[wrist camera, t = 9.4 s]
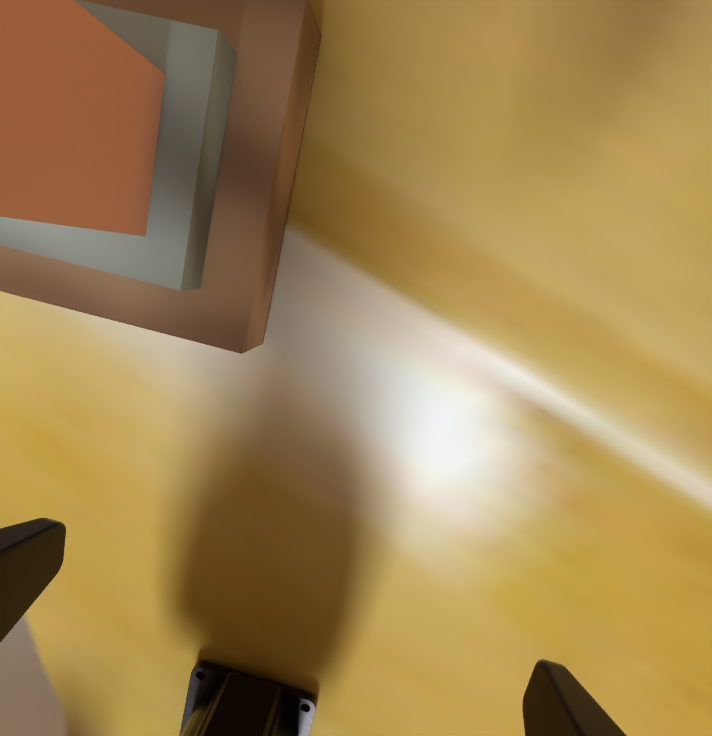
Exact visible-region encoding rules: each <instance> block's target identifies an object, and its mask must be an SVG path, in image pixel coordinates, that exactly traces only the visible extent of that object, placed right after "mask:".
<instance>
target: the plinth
mask: <svg viewBox="0 0 712 736" xmlns="http://www.w3.org/2000/svg"><path fill="white" fill-rule="evenodd" d="M74 1H75V2H76V3H78V4H79V5H80V6H81V7H82V8H84V9H85V10H86V11H87V12H89V13H90V14H91V15H92V16H94V17H95V18H96V19H97V20H99V21H100V22H101V23H102V24H104V25H105V26H106V27H107V28H108V29H110V30H111V31H112V32H113V33H115V34H116V35H117V36H118V37H120V38H121V39H122V40H123V41H125V42H126V43H127V44H128V45H130V46H131V47H132V48H133V49H134V50H136V51H137V52H138V53H139V54H141V55H142V56H143V57H144V58H146V59H147V60H148V61H149V62H151V63H152V64H153V65H154V66H156V67H157V68H158V69H159V70H160V71H162V72H163V73H164V74H165V79H164V87H163V95H162V104H161V112H160V120H159V128H158V136H157V145H156V153H155V161H154V169H153V178H152V186H151V194H150V202H149V211H148V219H147V227H146V235H145V236H138V235H130V234H123V233H116V232H109V231H101V230H94V229H87V228H79V227H72V226H65V225H58V224H50V223H43V222H36V221H28V220H21V219H14V218H6V217H0V291H2V292H6V293H10V294H14V295H18V296H21V297H25V298H29V299H33V300H37V301H41V302H45V303H48V304H52V305H56V306H60V307H64V308H68V309H72V310H75V311H79V312H83V313H87V314H91V315H95V316H99V317H102V318H106V319H110V320H114V321H118V322H122V323H126V324H130V325H133V326H137V327H141V328H145V329H149V330H153V331H157V332H160V333H164V334H168V335H172V336H176V337H180V338H184V339H187V340H191V341H195V342H199V343H203V344H207V345H211V346H214V347H218V348H222V349H226V350H230V351H234V352H238V353H241V354H242V353H244V352H246V351H248V350H250V349H252V348H254V347H257V346H259V345H261V344H262V343H263V338H264V333H265V328H266V322H267V317H268V312H269V307H270V301H271V296H272V291H273V286H274V280H275V275H276V270H277V265H278V259H279V254H280V249H281V244H282V239H283V233H284V228H285V223H286V218H287V212H288V207H289V202H290V197H291V191H292V186H293V181H294V176H295V170H296V165H297V160H298V155H299V150H300V144H301V139H302V134H303V129H304V123H305V118H306V113H307V108H308V102H309V97H310V92H311V87H312V81H313V76H314V71H315V66H316V60H317V55H318V50H319V45H320V40H321V35H320V32H319V29H318V27H317V24H316V21H315V19H314V16H313V14H312V11H311V8H310V6H309V3H308V0H74Z"/></svg>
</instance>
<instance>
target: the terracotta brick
mask: <svg viewBox="0 0 712 736" xmlns="http://www.w3.org/2000/svg"><path fill="white" fill-rule="evenodd" d="M164 79H165V74H164V73H163V72H162V71H160V70H159V69H158V68H157V67H156V66H154V65H153V64H152V63H151V62H149V61H148V60H147V59H146V58H144V57H143V56H142V55H141V54H139V53H138V52H137V51H136V50H134V49H133V48H132V47H131V46H130V45H128V44H127V43H126V42H125V41H123V40H122V39H121V38H120V37H118V36H117V35H116V34H115V33H113V32H112V31H111V30H110V29H108V28H107V27H106V26H105V25H104V24H102V23H101V22H100V21H99V20H97V19H96V18H95V17H94V16H92V15H91V14H90V13H89V12H87V11H86V10H85V9H84V8H82V7H81V6H80V5H79V4H78V3H76V2H75V1H74V0H0V217H6V218H14V219H21V220H28V221H36V222H43V223H50V224H58V225H65V226H72V227H79V228H87V229H94V230H101V231H109V232H116V233H123V234H130V235H138V236H145V235H146V227H147V219H148V211H149V202H150V194H151V186H152V178H153V169H154V161H155V153H156V145H157V136H158V128H159V120H160V112H161V104H162V95H163V87H164Z"/></svg>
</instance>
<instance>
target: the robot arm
mask: <svg viewBox="0 0 712 736" xmlns="http://www.w3.org/2000/svg"><path fill="white" fill-rule="evenodd" d="M65 536H66V527H65V525H64V524H63V523H62V522H59V521H55V520H52V519H48V518H39V519H35V520H31V521H27V522H24V523H20V524H16V525H12V526H8V527H4V528H1V529H0V642H1V641H2V640H3V639H4V637H5V636H6V635H7V634H8V633H9V631H10V630H11V629H12V628H13V627H14V625H15V624H16V623H17V622H18V621H19V619H20V618H21V617H22V616H23V615H24V613H25V612H26V611H27V610H28V608H29V607H30V606H31V605H32V604H33V602H34V601H35V600H36V599H37V598H38V596H39V595H40V594H41V593H42V591H43V590H44V589H45V588H46V587H47V585H48V584H49V583H50V582H51V581H52V579H53V578H54V577H55V576H56V574H57V573H58V571H59V570H60V568H61V566H62V562H63V557H64V546H65ZM202 672H203V673H202ZM306 704H308V705H306ZM316 705H317V700H316V697H315V696H314V695H313V694H311V693H308V692H305V691H302V690H298V689H295V688H292V687H289V686H285V685H282V684H279V683H276V682H272V681H269V680H266V679H263V678H259V677H256V676H253V675H249V674H246V673H243V672H240V671H236V670H233V669H230V668H227V667H223V666H220V665H217V664H214V663H210V662H207V661H198V662H197V663H196V664H195V666H194V668H193V670H192V672H191V677H190V682H189V687H188V693H187V698H186V704H185V709H184V714H183V720H182V725H181V730H180V736H309V732H310V728H311V725H312V721H313V717H314V713H315V709H316ZM523 719H524V728H525V736H626V734H625V733H624V732H623V731H622V730H621V729H620V728H619V727H618V726H617V724H616V723H615V722H614V721H613V720H612V719H611V718H610V717H609V715H608V714H607V713H606V712H605V711H604V710H603V709H602V708H601V706H600V705H599V704H598V703H597V702H596V701H595V700H594V699H593V698H592V696H591V695H590V694H589V693H588V692H587V691H586V690H585V689H584V687H583V686H582V685H581V684H580V683H579V682H578V681H577V680H576V678H575V677H574V676H573V675H572V674H571V673H570V672H569V671H568V669H567V668H566V667H564V666H563V665H561V664H558V663H555V662H551V661H548V660H544V659H541V660H539V661H538V662H537V663H536V665H535V667H534V670H533V672H532V675H531V678H530V680H529V683H528V686H527V688H526V691H525V694H524V697H523Z"/></svg>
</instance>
